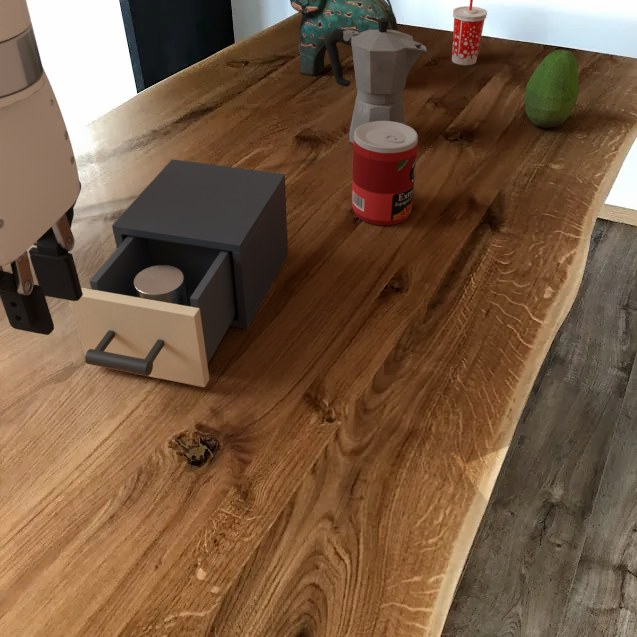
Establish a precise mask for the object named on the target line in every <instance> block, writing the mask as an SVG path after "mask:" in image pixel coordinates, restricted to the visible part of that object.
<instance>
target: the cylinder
mask: <svg viewBox="0 0 637 637" xmlns="http://www.w3.org/2000/svg"><path fill="white" fill-rule="evenodd" d="M134 288H135V292H136V297H138V298H144V299H149V300H155V301H161V302H167V303H172V304H178V305H184V306H188V301H187V294H186V287H185V281H184V275H183V273H182V271H181V270H179V269H178V268H176V267H173V266H169V265H157V266H152V267H149V268H146V269H144V270H142V271H141V272H139V273H138V274H137V275H136V277H135V279H134Z"/></svg>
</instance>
